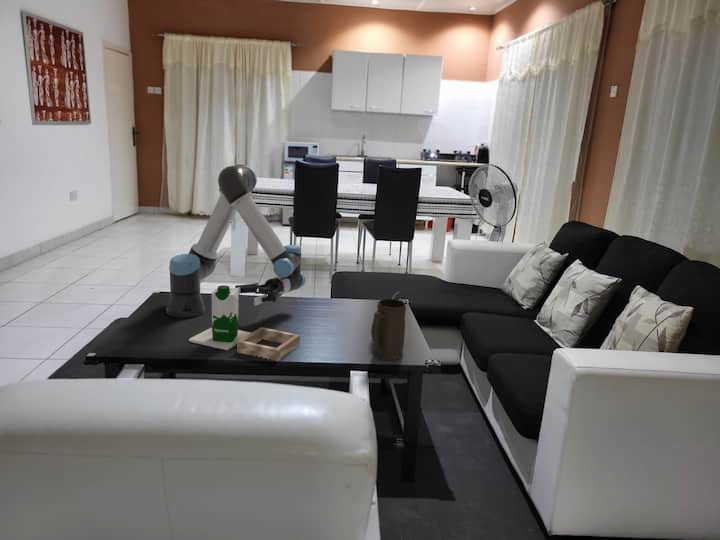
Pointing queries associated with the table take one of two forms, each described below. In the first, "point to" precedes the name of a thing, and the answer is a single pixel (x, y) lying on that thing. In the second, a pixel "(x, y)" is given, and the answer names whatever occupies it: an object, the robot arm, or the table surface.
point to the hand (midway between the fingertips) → (241, 298)
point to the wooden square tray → (276, 354)
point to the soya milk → (224, 314)
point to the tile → (207, 340)
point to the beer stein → (389, 329)
